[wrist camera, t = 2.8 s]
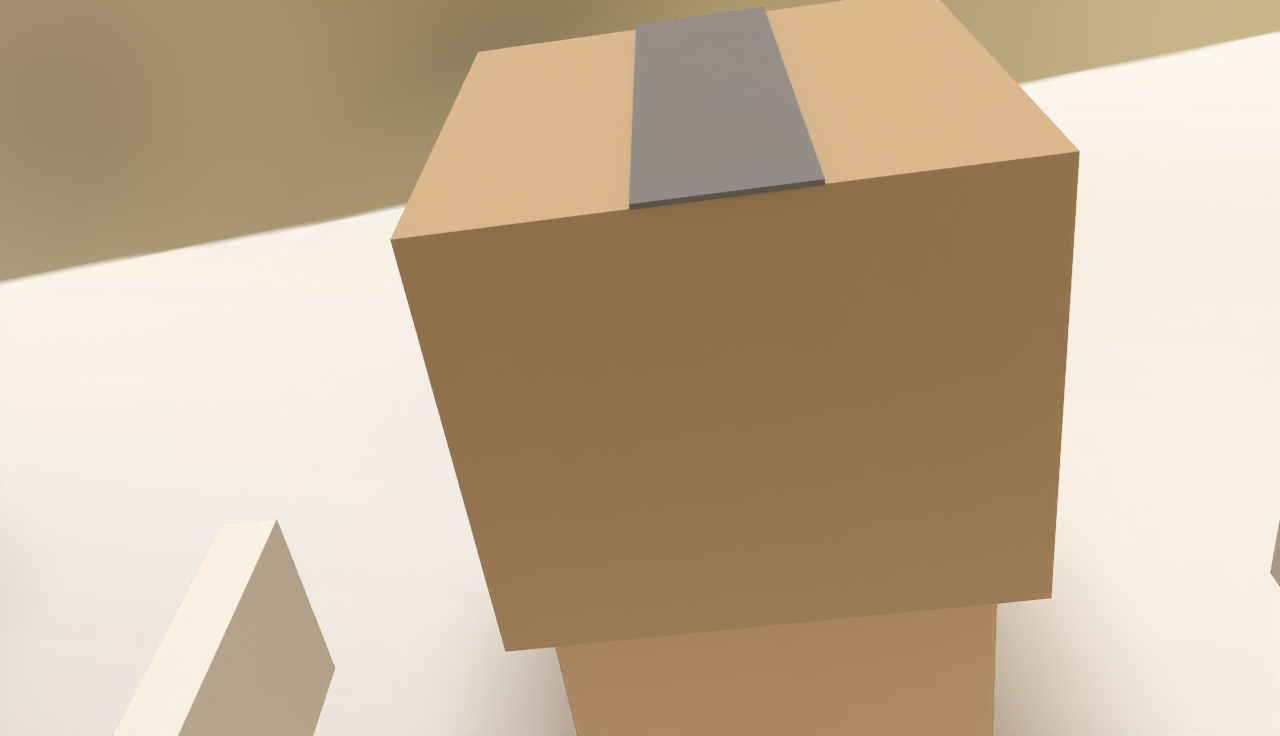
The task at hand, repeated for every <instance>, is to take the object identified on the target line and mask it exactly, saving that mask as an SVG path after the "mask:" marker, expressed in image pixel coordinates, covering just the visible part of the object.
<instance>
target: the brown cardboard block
mask: <svg viewBox="0 0 1280 736" xmlns="http://www.w3.org/2000/svg"><path fill="white" fill-rule="evenodd" d="M1078 167H1079V150H1078V149H1077V148H1076V147H1075V146H1074V145H1073V144H1072V143H1071V141H1070V140H1069V139H1068V138H1067V137H1066V136H1065V135H1064V134H1063V133H1062V132H1061V131H1060V130H1059V128H1058V127H1057V126H1056V125H1055V124H1054V123H1053V122H1052V121H1051V120H1050V119H1049V118H1048V117H1047V115H1046V114H1045V113H1044V112H1043V111H1042V110H1041V109H1040V108H1039V107H1038V106H1037V105H1036V104H1035V102H1034V101H1033V100H1032V99H1031V98H1030V97H1029V96H1028V95H1027V94H1026V93H1025V92H1024V91H1023V89H1022V88H1021V87H1020V86H1019V85H1018V84H1017V83H1016V82H1015V81H1014V80H1013V79H1012V78H1011V77H1010V75H1009V74H1008V73H1007V72H1006V71H1005V70H1004V69H1003V68H1002V67H1001V66H1000V65H999V64H998V62H997V61H996V60H995V59H994V58H993V57H992V56H991V55H990V54H989V53H988V52H987V51H986V50H985V49H984V47H982V45H981V44H980V43H979V42H978V41H977V40H976V39H975V38H974V36H973V35H972V34H971V33H970V32H969V31H968V30H967V29H966V28H965V27H964V26H963V25H962V23H960V21H959V20H958V19H957V18H956V17H955V16H954V15H953V14H952V13H951V12H950V10H949V9H948V8H947V7H946V6H945V5H944V4H943V3H942V2H941V1H940V0H845V1H837V2H830V3H823V4H816V5H809V6H802V7H794V8H788V9H780V10H773V11H766V12H765V9H764V7H759V8H752V9H745V10H738V11H731V12H724V13H717V14H710V15H703V16H696V17H689V18H681V19H674V20H667V21H660V22H654V23H647V24H639V25H636V30H631V31H624V32H617V33H610V34H603V35H596V36H589V37H581V38H575V39H567V40H560V41H553V42H546V43H539V44H532V45H525V46H518V47H510V48H503V49H497V50H489V51H482V52H478V54H477V56H476V58H475V60H474V62H473V64H472V67H471V69H470V71H469V73H468V75H467V78H466V80H465V82H464V84H463V86H462V88H461V90H460V92H459V94H458V97H457V99H456V101H455V103H454V105H453V107H452V110H451V112H450V114H449V116H448V118H447V120H446V122H445V125H444V127H443V129H442V131H441V133H440V135H439V137H438V139H437V142H436V144H435V146H434V148H433V150H432V152H431V154H430V156H429V158H428V161H427V163H426V165H425V167H424V169H423V171H422V173H421V175H420V178H419V180H418V182H417V184H416V186H415V188H414V190H413V193H412V195H411V197H410V199H409V201H408V203H407V205H406V207H405V210H404V212H403V214H402V216H401V218H400V220H399V222H398V225H397V227H396V229H395V231H394V233H393V235H392V237H391V239H390V240H391V243H392V247H393V251H394V254H395V258H396V261H397V265H398V268H399V272H400V276H401V279H402V283H403V286H404V290H405V293H406V297H407V301H408V304H409V308H410V311H411V315H412V318H413V322H414V326H415V329H416V333H417V336H418V340H419V344H420V347H421V351H422V354H423V358H424V361H425V365H426V369H427V372H428V376H429V379H430V383H431V386H432V390H433V394H434V397H435V401H436V404H437V408H438V412H439V415H440V419H441V422H442V426H443V429H444V433H445V437H446V440H447V444H448V447H449V451H450V454H451V458H452V462H453V465H454V469H455V472H456V476H457V479H458V483H459V487H460V490H461V494H462V497H463V501H464V505H465V508H466V512H467V515H468V519H469V522H470V526H471V530H472V533H473V537H474V540H475V544H476V547H477V551H478V555H479V558H480V562H481V565H482V569H483V573H484V576H485V580H486V583H487V587H488V590H489V594H490V598H491V601H492V605H493V608H494V612H495V615H496V619H497V623H498V626H499V630H500V633H501V637H502V640H503V644H504V648H505V651H516V650H526V649H537V648H547V647H557V646H567V645H577V644H588V643H598V642H608V641H618V640H629V639H639V638H649V637H659V636H669V635H680V634H690V633H700V632H710V631H720V630H731V629H741V628H751V627H761V626H772V625H782V624H792V623H802V622H812V621H823V620H833V619H843V618H853V617H864V616H874V615H884V614H894V613H904V612H915V611H925V610H935V609H945V608H956V607H966V606H976V605H986V604H996V603H1007V602H1017V601H1027V600H1037V599H1048V598H1051V594H1052V578H1053V562H1054V546H1055V531H1056V515H1057V499H1058V483H1059V467H1060V452H1061V436H1062V420H1063V404H1064V388H1065V373H1066V357H1067V341H1068V325H1069V309H1070V294H1071V278H1072V262H1073V246H1074V230H1075V215H1076V199H1077V183H1078Z"/></svg>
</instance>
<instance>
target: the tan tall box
mask: <svg viewBox="0 0 1280 736" xmlns="http://www.w3.org/2000/svg"><path fill="white" fill-rule="evenodd" d="M996 608H997V603H996V604H986V605H976V606H966V607H956V608H945V609H935V610H925V611H915V612H904V613H894V614H884V615H874V616H864V617H853V618H843V619H833V620H823V621H812V622H802V623H792V624H782V625H772V626H761V627H751V628H741V629H731V630H720V631H710V632H700V633H690V634H680V635H669V636H659V637H649V638H639V639H629V640H618V641H608V642H598V643H588V644H577V645H567V646H557V647H556V651H557V656H558V660H559V664H560V668H561V672H562V676H563V680H564V684H565V688H566V692H567V696H568V700H569V704H570V708H571V712H572V716H573V720H574V724H575V728H576V732H577V736H993V708H994V675H995V641H996Z"/></svg>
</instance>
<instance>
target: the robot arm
mask: <svg viewBox="0 0 1280 736" xmlns="http://www.w3.org/2000/svg"><path fill="white" fill-rule="evenodd" d="M1270 573H1271V574H1272V576H1273V577H1274V579H1275V580H1276V581H1277V583H1278V584H1279V586H1280V522H1279V528H1278V533H1277V539H1276V544H1275V550H1274V555H1273V561H1272V566H1271V572H1270ZM334 670H335V666H334V664H333V661H332V659H331V656H330V653H329V651H328V648H327V646H326V643H325V641H324V638H323V636H322V633H321V631H320V628H319V626H318V623H317V620H316V618H315V615H314V613H313V610H312V608H311V605H310V603H309V600H308V598H307V595H306V592H305V590H304V587H303V585H302V582H301V580H300V577H299V575H298V572H297V570H296V567H295V565H294V562H293V559H292V557H291V554H290V552H289V549H288V547H287V544H286V542H285V539H284V537H283V534H282V532H281V529H280V526H279V524H278V521H277V519H274V520H265V521H257V522H248V523H239V524H230V525H221V527H220V529H219V531H218V533H217V535H216V537H215V539H214V541H213V543H212V545H211V546H210V548H209V550H208V552H207V554H206V556H205V558H204V560H203V562H202V564H201V566H200V568H199V570H198V572H197V573H196V575H195V577H194V579H193V581H192V583H191V585H190V587H189V589H188V591H187V593H186V595H185V597H184V598H183V600H182V602H181V604H180V606H179V608H178V610H177V612H176V614H175V616H174V618H173V620H172V622H171V624H170V625H169V627H168V629H167V631H166V633H165V635H164V637H163V639H162V641H161V643H160V645H159V647H158V649H157V651H156V652H155V654H154V656H153V658H152V660H151V662H150V664H149V666H148V668H147V670H146V672H145V674H144V676H143V677H142V679H141V681H140V683H139V685H138V687H137V689H136V691H135V693H134V695H133V697H132V699H131V701H130V703H129V704H128V706H127V708H126V710H125V712H124V714H123V716H122V718H121V720H120V722H119V724H118V726H117V728H116V729H115V731H114V733H113V735H112V736H313V734H314V731H315V728H316V725H317V722H318V719H319V716H320V713H321V710H322V706H323V703H324V700H325V697H326V694H327V691H328V688H329V685H330V682H331V679H332V676H333V673H334Z"/></svg>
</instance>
